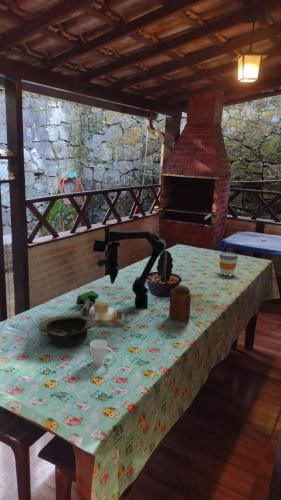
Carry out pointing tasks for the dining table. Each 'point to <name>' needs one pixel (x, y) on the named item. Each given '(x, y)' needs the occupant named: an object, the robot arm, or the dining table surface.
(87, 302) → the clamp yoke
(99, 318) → the plane body
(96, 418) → the dining table surface
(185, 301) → the wooden figurine
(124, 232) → the robot arm
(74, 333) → the stone bowl
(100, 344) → the cup
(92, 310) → the mat
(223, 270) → the reusable coffee cup
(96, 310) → the olive wooden block
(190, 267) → the dining table surface
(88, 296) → the green lumpy block
